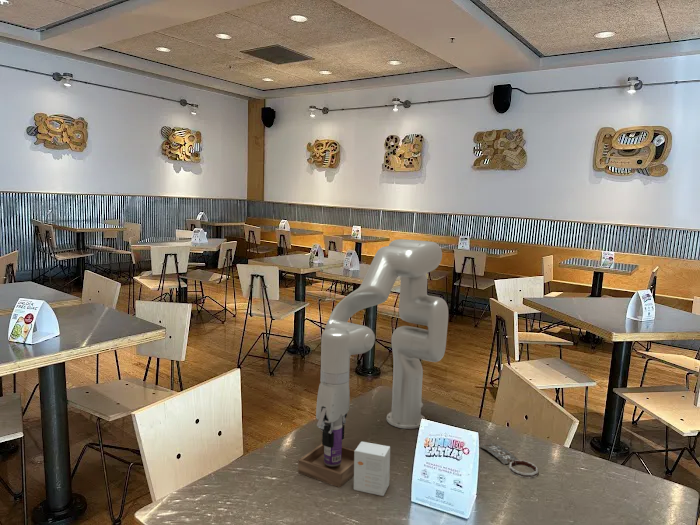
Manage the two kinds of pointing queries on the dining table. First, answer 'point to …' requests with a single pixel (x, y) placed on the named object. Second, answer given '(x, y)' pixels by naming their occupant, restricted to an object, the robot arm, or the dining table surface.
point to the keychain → (510, 460)
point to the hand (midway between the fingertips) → (333, 441)
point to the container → (334, 454)
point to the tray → (319, 470)
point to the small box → (371, 468)
